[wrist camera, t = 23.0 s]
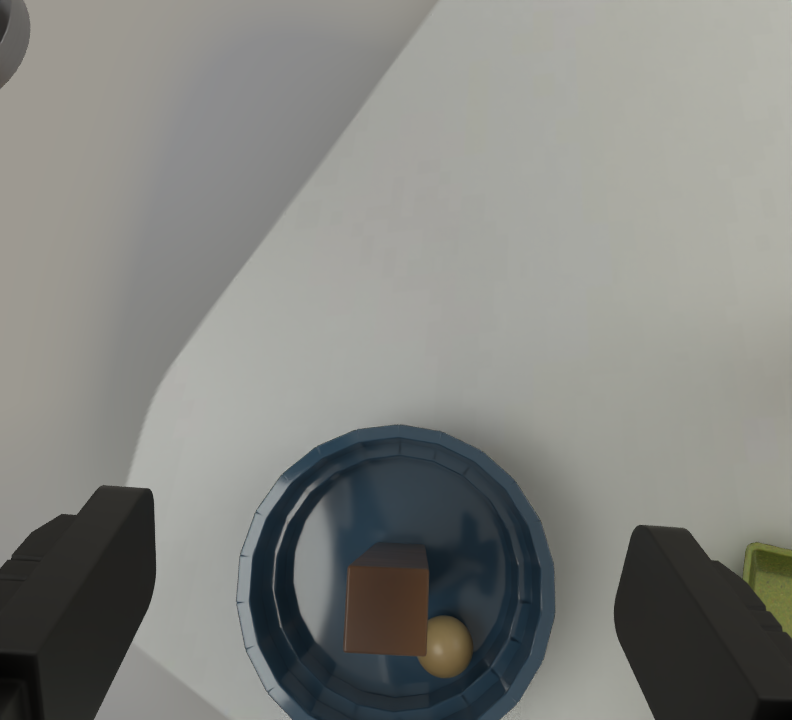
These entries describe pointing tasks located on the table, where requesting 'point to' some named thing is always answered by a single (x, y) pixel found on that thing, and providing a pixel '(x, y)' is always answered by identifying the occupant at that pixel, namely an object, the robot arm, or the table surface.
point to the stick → (387, 601)
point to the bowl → (406, 524)
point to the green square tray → (771, 579)
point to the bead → (447, 647)
